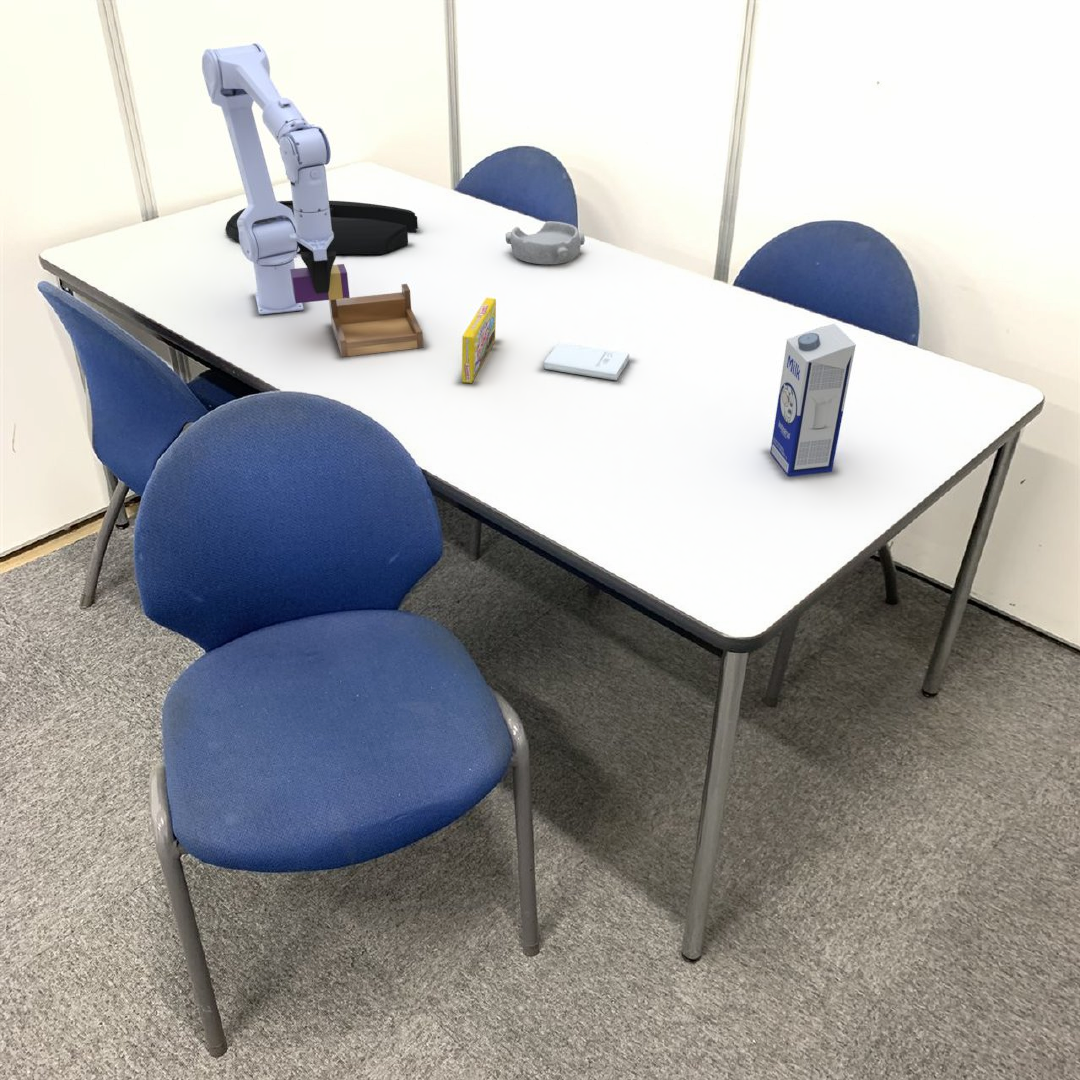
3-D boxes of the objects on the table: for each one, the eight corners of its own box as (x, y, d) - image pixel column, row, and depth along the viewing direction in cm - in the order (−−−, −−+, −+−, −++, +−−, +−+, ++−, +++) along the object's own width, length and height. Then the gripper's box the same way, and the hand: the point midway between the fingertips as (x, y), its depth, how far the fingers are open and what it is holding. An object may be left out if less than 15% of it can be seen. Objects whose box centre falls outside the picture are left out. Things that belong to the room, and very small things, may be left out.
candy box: (474, 384, 178) (472, 337, 174) (461, 383, 179) (459, 336, 174) (497, 342, 191) (496, 297, 186) (485, 341, 192) (484, 296, 187)
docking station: (249, 208, 247) (246, 186, 244) (426, 219, 243) (425, 196, 240) (207, 248, 227) (203, 224, 224) (399, 260, 222) (397, 236, 219)
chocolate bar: (293, 294, 187) (289, 268, 184) (346, 289, 189) (343, 263, 186) (295, 303, 184) (292, 277, 181) (349, 298, 186) (347, 272, 183)
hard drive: (559, 350, 189) (629, 360, 186) (543, 370, 183) (616, 381, 179) (559, 341, 188) (629, 351, 185) (543, 361, 182) (616, 372, 178)
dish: (498, 256, 225) (497, 232, 222) (542, 238, 233) (542, 214, 230) (552, 273, 217) (552, 249, 214) (595, 254, 226) (596, 230, 223)
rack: (331, 326, 196) (327, 291, 192) (409, 317, 199) (406, 283, 196) (341, 357, 186) (338, 321, 182) (423, 347, 189) (421, 312, 186)
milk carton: (832, 472, 157) (856, 343, 145) (788, 477, 156) (809, 347, 144) (812, 447, 163) (834, 321, 151) (769, 452, 161) (788, 325, 150)
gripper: (282, 195, 182) (292, 273, 190) (290, 224, 171) (301, 306, 179) (324, 191, 184) (333, 269, 192) (336, 220, 172) (344, 301, 180)
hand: (320, 287), depth 185 cm, fingers closed on chocolate bar, 4 cm apart
